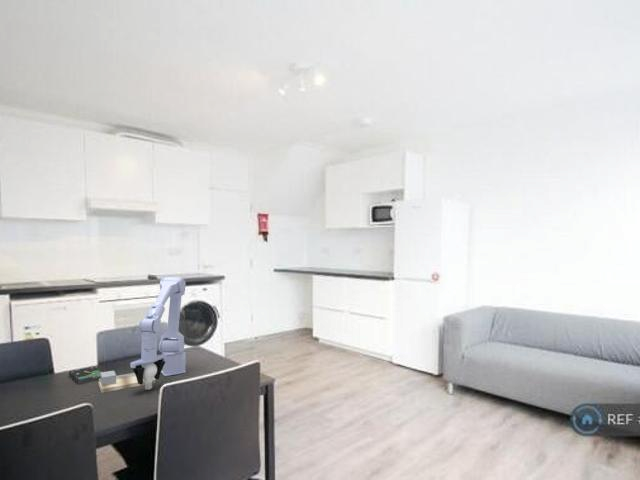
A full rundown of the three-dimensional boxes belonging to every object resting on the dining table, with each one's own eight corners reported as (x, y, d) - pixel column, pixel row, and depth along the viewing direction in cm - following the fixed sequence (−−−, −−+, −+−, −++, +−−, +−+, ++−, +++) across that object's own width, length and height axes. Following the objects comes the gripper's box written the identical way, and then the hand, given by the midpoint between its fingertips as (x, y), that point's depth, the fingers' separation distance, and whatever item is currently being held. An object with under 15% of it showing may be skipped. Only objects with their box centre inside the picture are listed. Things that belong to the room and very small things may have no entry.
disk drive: (68, 377, 169) (78, 385, 159) (68, 371, 169) (78, 379, 159) (94, 372, 177) (105, 379, 167) (94, 366, 177) (105, 373, 167)
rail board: (149, 375, 172) (150, 364, 172) (155, 382, 163) (155, 371, 163) (98, 384, 160) (98, 372, 160) (101, 392, 151) (101, 380, 151)
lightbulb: (160, 388, 157) (160, 361, 157) (148, 393, 151) (149, 365, 151) (148, 385, 159) (148, 359, 159) (136, 391, 153) (136, 363, 153)
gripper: (159, 342, 163) (158, 374, 163) (126, 350, 151) (125, 384, 151) (169, 345, 159) (169, 377, 159) (136, 353, 147) (135, 388, 147)
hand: (148, 381), depth 155 cm, fingers open, 7 cm apart
